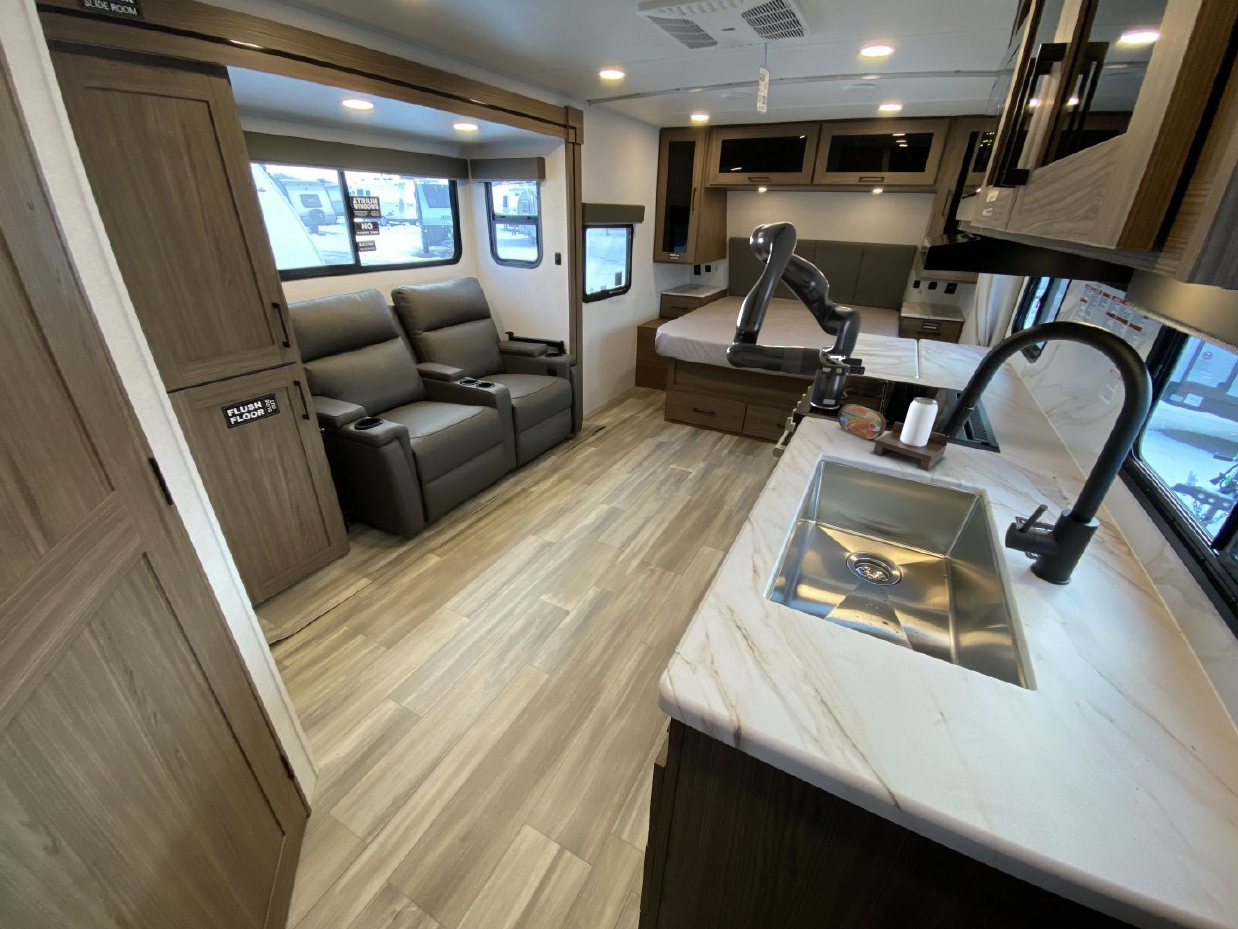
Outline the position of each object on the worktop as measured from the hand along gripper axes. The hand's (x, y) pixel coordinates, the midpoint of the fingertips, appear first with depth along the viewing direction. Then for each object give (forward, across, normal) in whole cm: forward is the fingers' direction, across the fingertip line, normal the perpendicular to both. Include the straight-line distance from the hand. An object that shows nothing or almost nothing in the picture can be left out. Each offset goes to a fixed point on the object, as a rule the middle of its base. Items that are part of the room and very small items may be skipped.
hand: (863, 366), depth 132 cm
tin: (+4, +11, +23) cm, 26 cm away
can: (+17, -1, +19) cm, 25 cm away
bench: (+16, -1, +23) cm, 28 cm away
